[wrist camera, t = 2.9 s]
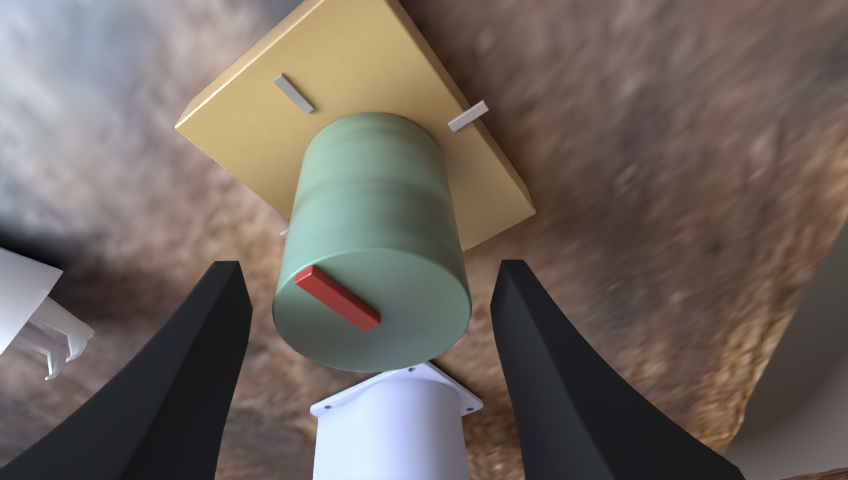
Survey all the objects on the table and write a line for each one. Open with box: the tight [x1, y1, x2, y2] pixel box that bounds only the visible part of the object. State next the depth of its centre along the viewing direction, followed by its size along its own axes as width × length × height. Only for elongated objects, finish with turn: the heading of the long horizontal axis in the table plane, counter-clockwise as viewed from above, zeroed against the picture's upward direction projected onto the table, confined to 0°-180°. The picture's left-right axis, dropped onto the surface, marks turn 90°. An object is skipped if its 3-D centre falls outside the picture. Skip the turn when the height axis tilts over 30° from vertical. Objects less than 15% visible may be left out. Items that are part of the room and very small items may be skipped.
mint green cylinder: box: [272, 112, 472, 372], centre depth 14 cm, size 5×5×7 cm
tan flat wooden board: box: [175, 0, 536, 253], centre depth 18 cm, size 11×9×2 cm
